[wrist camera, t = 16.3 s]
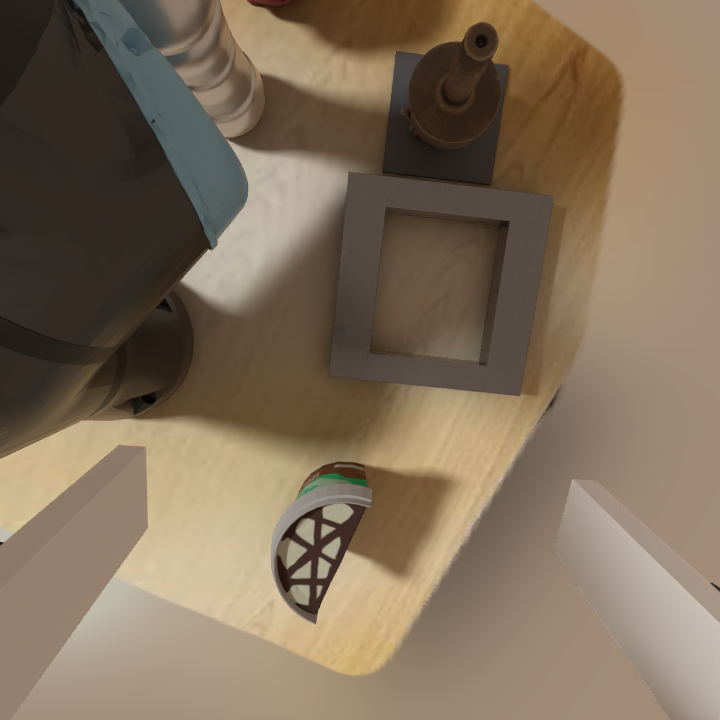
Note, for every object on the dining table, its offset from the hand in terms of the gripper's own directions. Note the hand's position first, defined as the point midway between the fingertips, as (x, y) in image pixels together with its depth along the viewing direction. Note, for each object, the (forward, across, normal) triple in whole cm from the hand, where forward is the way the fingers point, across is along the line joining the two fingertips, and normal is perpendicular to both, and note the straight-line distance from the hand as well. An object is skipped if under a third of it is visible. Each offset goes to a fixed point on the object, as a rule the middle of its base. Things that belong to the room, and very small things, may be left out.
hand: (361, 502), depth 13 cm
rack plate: (+28, +8, +5) cm, 30 cm away
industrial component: (+30, +7, +20) cm, 36 cm away
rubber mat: (+30, +7, +20) cm, 37 cm away
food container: (+27, -2, -17) cm, 32 cm away
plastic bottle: (+31, -12, +19) cm, 38 cm away
